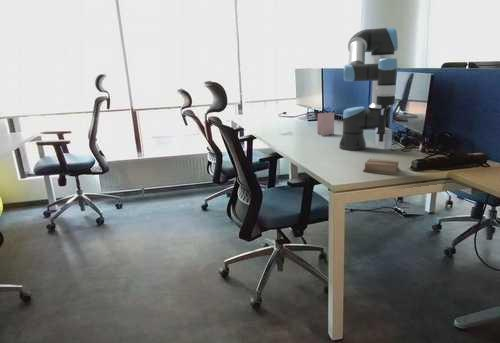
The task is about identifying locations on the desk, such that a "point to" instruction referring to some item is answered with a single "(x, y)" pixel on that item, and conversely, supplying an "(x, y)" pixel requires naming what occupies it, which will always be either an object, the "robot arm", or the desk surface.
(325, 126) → the pink rectangular block
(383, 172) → the plinth
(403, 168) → the desk surface
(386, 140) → the medicine box
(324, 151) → the desk surface
